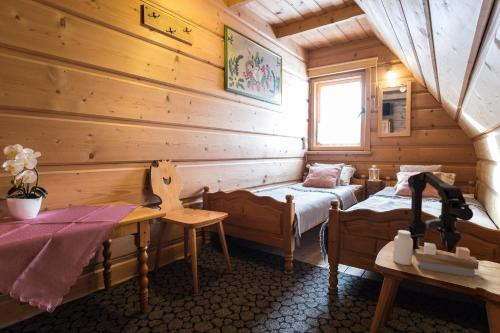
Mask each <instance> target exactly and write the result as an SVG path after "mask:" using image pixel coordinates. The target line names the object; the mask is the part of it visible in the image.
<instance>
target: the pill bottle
mask: <svg viewBox="0 0 500 333" xmlns="http://www.w3.org/2000/svg"><path fill="white" fill-rule="evenodd" d="M410 236H411V233H410V232H409V231H405V229H404V230H403V229H399V230H398V231H397V235H396V236H395V237H394V240H393V251H392V260H393V262H394V263H396V264H397V265H398V264H399V265H403V266H410V265H412V263H413V262H412V261H413V250H414V249H413V240H412V238H410Z"/></svg>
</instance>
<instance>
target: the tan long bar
mask: <svg viewBox="0 0 500 333" xmlns="http://www.w3.org/2000/svg"><path fill="white" fill-rule="evenodd" d="M414 250H415V252H414V257H415V259H416V261H417V262H418V261H423V262H430V263H437V264H443V265H450V266H456V267H463V268H469V269H474V270H479V263H480V262H479V261H478V259H477V258H476V257H475V256H470V258H469V260H465V259H458V258H457V256H456V253H455V254H454V253H449V252H440V251H436V255H431V254H425V252H424V249H420V250H419V249H414Z"/></svg>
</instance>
